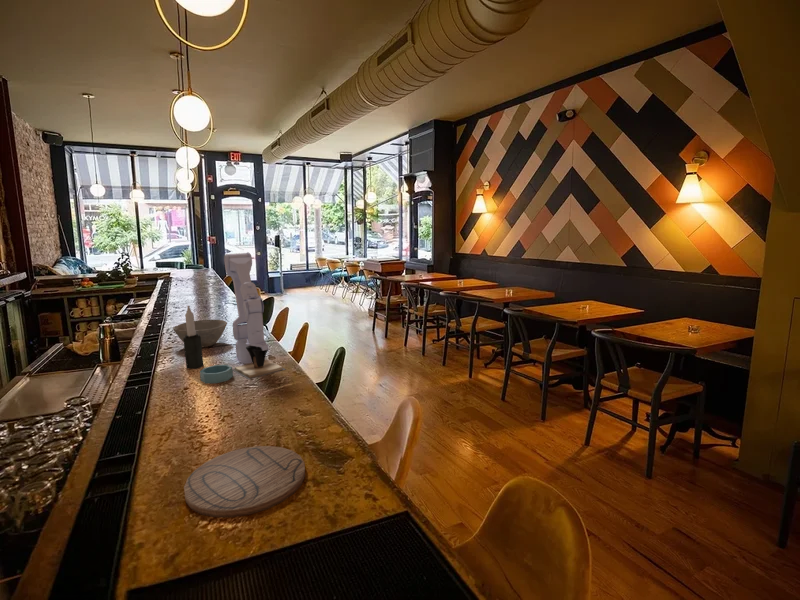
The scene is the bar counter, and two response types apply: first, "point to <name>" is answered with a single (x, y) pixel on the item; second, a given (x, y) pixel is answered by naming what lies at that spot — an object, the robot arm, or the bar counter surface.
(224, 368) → the dish
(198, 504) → the trivet
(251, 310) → the robot arm
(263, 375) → the tray
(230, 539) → the bar counter surface
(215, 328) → the ceramic bowl
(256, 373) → the lid
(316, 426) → the bar counter surface
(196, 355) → the candle
